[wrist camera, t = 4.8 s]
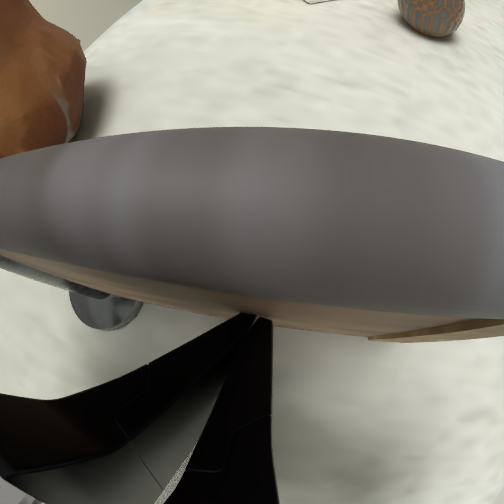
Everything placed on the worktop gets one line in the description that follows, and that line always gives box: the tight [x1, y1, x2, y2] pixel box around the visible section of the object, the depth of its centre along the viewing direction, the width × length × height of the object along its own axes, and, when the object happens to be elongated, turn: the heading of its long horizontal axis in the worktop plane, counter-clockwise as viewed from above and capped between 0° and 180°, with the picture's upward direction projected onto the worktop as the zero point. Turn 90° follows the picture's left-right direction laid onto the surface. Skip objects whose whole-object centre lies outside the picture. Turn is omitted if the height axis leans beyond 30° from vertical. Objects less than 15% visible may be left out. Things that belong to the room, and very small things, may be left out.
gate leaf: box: [0, 127, 504, 343], centre depth 9 cm, size 15×2×12 cm, turn 80°
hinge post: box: [0, 255, 143, 330], centre depth 11 cm, size 6×6×14 cm
